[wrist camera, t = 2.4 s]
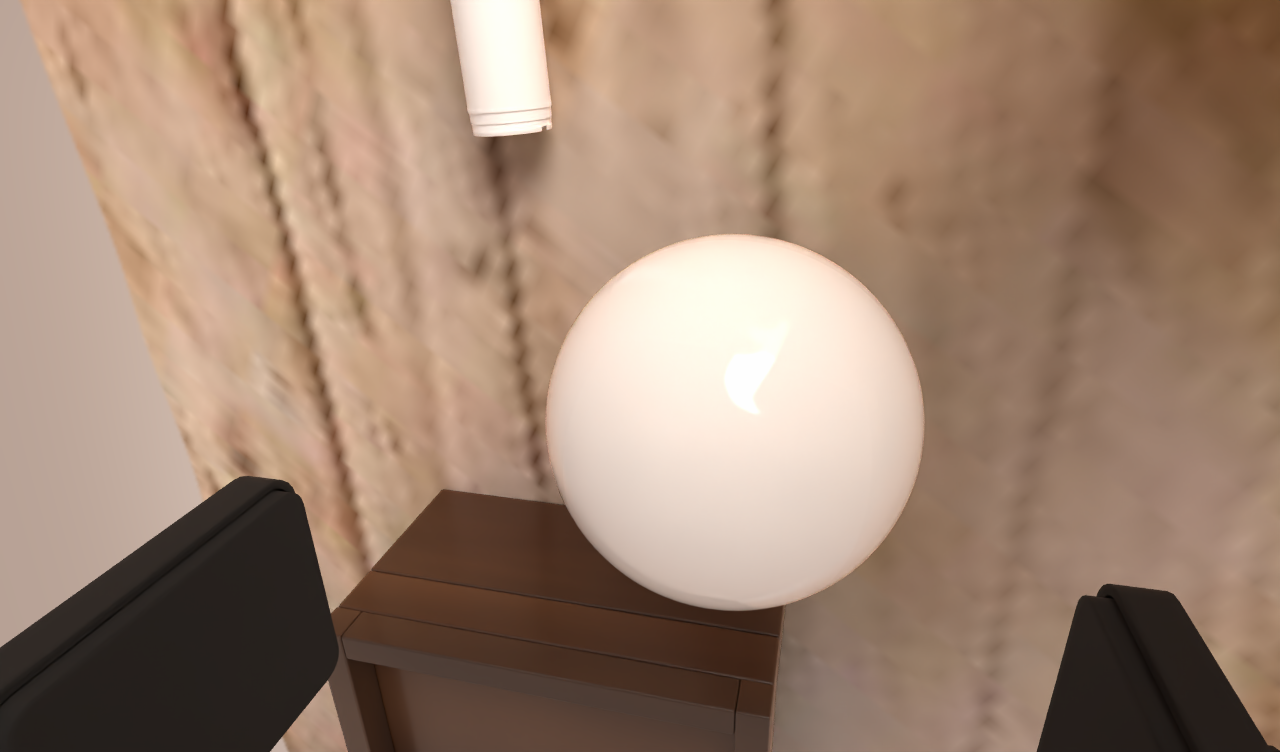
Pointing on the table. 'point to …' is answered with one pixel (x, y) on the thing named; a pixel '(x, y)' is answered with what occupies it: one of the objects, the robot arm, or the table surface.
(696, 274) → the lightbulb
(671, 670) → the tray
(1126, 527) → the table surface
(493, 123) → the marker
